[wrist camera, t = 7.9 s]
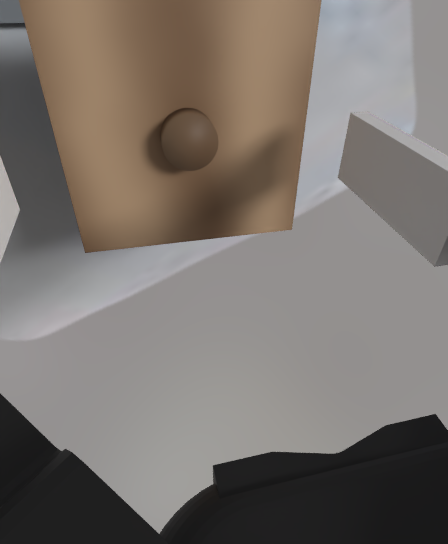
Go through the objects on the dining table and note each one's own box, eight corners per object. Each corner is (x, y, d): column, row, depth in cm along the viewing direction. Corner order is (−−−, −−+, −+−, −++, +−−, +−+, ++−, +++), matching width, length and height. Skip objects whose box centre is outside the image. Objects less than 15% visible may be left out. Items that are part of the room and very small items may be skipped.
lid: (89, 214, 23) (83, 264, 19) (34, -22, 16) (6, -19, 12) (270, 197, 25) (298, 239, 21) (288, -22, 18) (335, -20, 14)
